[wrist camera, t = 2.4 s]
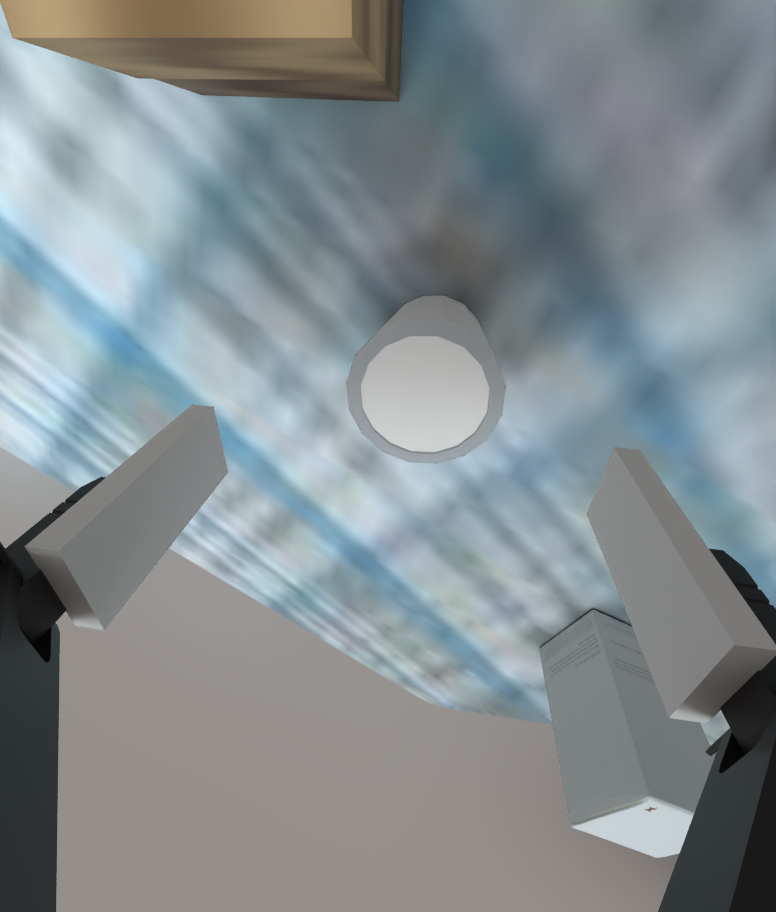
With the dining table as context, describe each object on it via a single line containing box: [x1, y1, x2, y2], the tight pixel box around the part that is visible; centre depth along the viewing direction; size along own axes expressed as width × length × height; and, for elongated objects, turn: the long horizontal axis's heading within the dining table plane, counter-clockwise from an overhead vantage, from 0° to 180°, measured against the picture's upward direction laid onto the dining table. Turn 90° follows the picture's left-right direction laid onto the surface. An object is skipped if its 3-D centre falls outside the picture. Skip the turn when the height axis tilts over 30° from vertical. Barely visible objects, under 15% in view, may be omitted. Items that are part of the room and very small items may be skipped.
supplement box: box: [540, 610, 715, 858], centre depth 30 cm, size 7×7×13 cm
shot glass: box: [346, 295, 506, 464], centre depth 21 cm, size 7×7×7 cm
